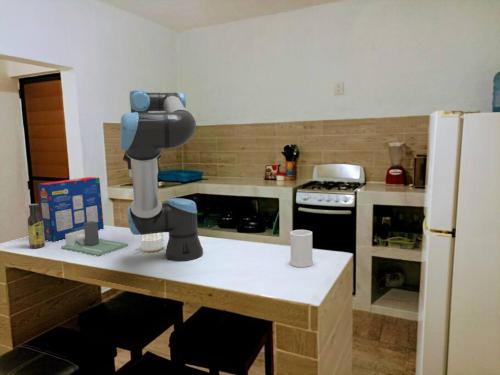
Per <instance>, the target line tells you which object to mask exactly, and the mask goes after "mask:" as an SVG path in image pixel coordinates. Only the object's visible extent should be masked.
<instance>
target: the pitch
mask: <svg viewBox="0 0 500 375" xmlns="http://www.w3.org/2000/svg"><path fill="white" fill-rule="evenodd" d="M80 234H83V235H85V232H84V229H83V230H80V231H76V232H72V233H68V234H65V238H66V239H65V245H61V247H60V249H61V248H62V249H61V250H65V249H67V250H66V251H70V250H72V251H71V252H75V251H77V252H76V253H79V252H82V253H81V254H84V253H86V254H85V255H89V254H90V255H89V256H94V255H96V256H95V257H100V256H99V255H101V256H103V255H102V254H104V255H106V254H105V253H107V254H109V253H112V252H115V251H117V250H120V249H123V248H127V247H129V243H125V242H119V241H114V240H108V239H102V238H99V244H96V245H93V246H90V245H86V244H85V245H80V243H79V242H78V241H77V240H76V238H77V236H78V235H80ZM111 251H112V252H111ZM108 252H109V253H108Z"/></svg>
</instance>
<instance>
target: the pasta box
mask: <svg viewBox="0 0 500 375" xmlns="http://www.w3.org/2000/svg"><path fill="white" fill-rule="evenodd" d="M100 180H101V179H100V177H94V176H88V177H81V178H80V177H79V178H74V179H64V180H57V181H48V182H41V183H38V184H37V185H38V195H39V206H40V215H41V218H42V220H43V225H44V236H45V241H46V240H48V241H47V242H50V241H52V242H51V243H57V242H60V241H59V240H61V241H63V239H64V240H66V238H65V234H68V233H72V232H76V231H80V230H83V229H84V223H86V222H90V221H94V222H97V225H98V231H101V230H100V229H102V230H104V229H105V226H104V214H103V205H102V204H103V203H102V194H101V192H102V191H101V182H100ZM56 241H57V242H56Z"/></svg>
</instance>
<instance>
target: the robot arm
mask: <svg viewBox="0 0 500 375" xmlns="http://www.w3.org/2000/svg"><path fill="white" fill-rule="evenodd" d="M186 103H187V100H186V95H185V94H184V92H176V91H175V92H148V91H146V90H143V89H132V90H130V91H129V106H130V112H126V113H123V114H122V115H121V117H120V126H119V127H120V129H119V132H120V133H119V134H120V135H119V149H120V150H121V151H124V154H123V158H122V160H123V161H125V162H126V163H127V169H128V171H129V172H128V173H129V178H132V190H133V200H132V201H131V204H130V205H128V206H127V208H126V214H127V215H126V217H127V221H128V227H129V230H130V232H131V234H132V235H135V236H139V235H140V236H144V235H152V234H163V233H168V241H167V244H166V249H165V258H166V259H167V260H170V261H174V262H175V261H176V262H179V261H180V262H181V261H183V262H184V261H191V260H195V259H199V258H201V257H202V256H203V254H204V250H203V249H204V248H203V246H202V243H201V241H200V238H199V236H198V235H199V232H198V211H197V204H196V202H195V201H194V200H192V199H189V198H188V199H186V198H175V197H174V198H167V199H166V201H165V202H163V203H162V201H161V200H160V199H159V196H158V194H159V193H158V191H159V190H158V185H159V184H158V174H159V170H158V169H159V168H158V166H159V160H160V159H161V158H162V155H161V154H162V150H164V149H166V150H167V149H175V148H179V147H181V146H182V147H183V145H185V144H187V143H188V142H189V141H190V140H191V139H192V138H193V137H194V135H195V133H196V129H197V123H196V119H195V117H194V116H193V114H192V113H191V112H189V111H188V110H186V106H187V104H186Z"/></svg>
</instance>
